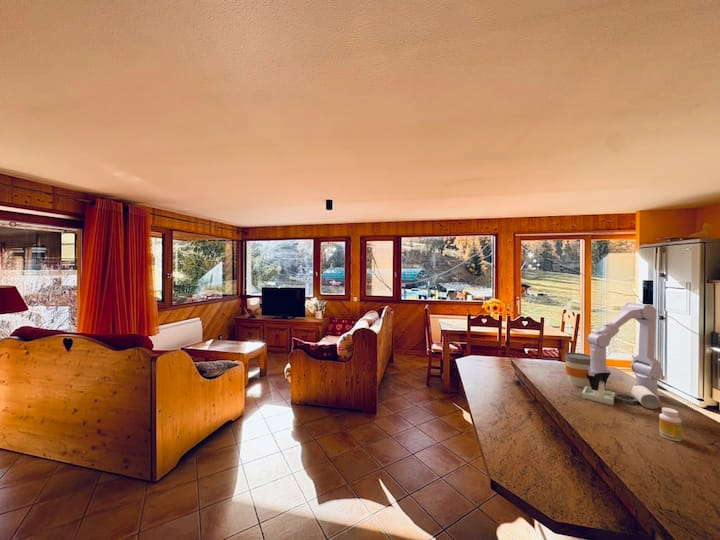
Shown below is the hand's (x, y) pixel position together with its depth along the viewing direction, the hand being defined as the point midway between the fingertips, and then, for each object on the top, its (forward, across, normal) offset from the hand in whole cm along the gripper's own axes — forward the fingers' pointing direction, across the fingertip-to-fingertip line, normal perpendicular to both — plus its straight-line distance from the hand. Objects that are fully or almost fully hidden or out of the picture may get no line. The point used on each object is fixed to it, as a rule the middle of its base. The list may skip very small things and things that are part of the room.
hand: (598, 388), depth 135 cm
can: (+1, +6, -16) cm, 17 cm away
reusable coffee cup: (+5, +11, +12) cm, 17 cm away
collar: (+4, +7, -7) cm, 11 cm away
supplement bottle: (+5, -16, -27) cm, 32 cm away
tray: (+4, 0, 0) cm, 4 cm away
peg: (+4, 0, 0) cm, 4 cm away
